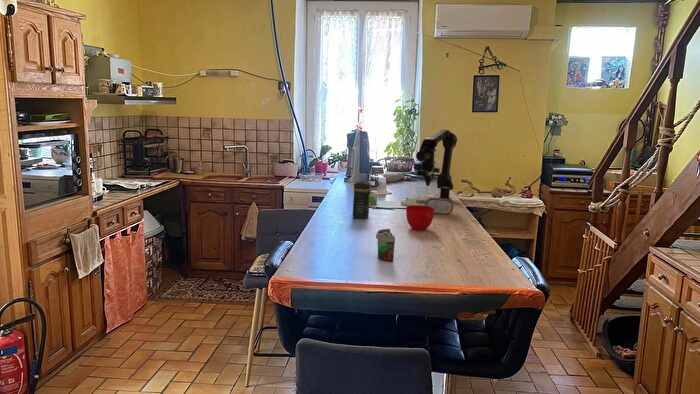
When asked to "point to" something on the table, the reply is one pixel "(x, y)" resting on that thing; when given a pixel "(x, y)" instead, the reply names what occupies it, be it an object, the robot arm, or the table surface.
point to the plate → (419, 199)
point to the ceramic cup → (419, 216)
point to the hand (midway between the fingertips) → (427, 186)
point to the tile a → (412, 199)
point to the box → (405, 202)
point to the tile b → (429, 196)
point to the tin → (440, 205)
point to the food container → (385, 245)
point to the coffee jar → (361, 199)
